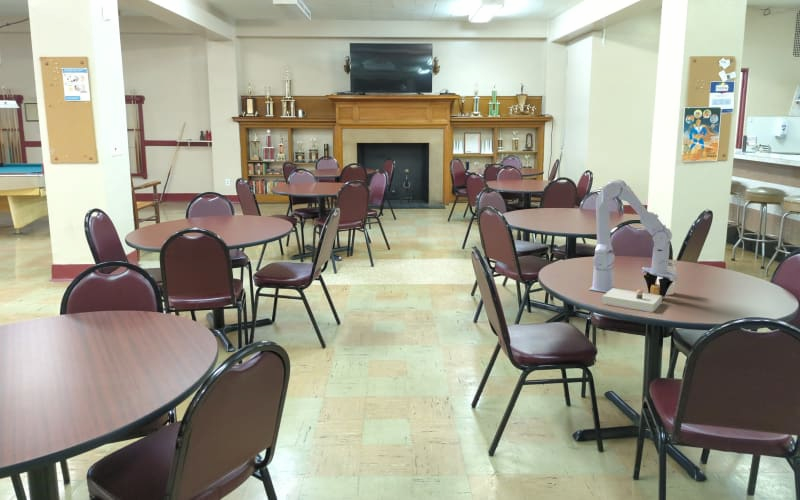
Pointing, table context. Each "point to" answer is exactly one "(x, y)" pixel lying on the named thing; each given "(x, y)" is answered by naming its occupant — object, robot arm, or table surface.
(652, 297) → the junction box
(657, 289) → the cap
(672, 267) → the can
